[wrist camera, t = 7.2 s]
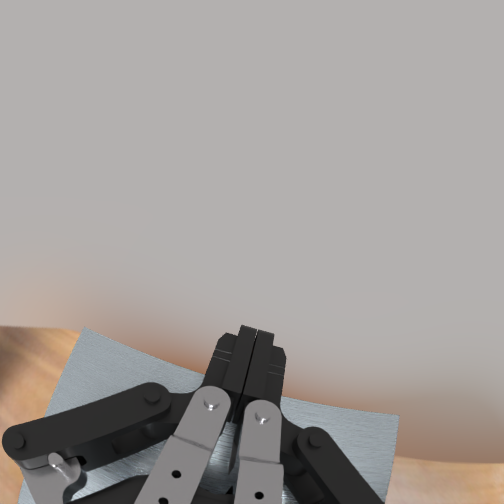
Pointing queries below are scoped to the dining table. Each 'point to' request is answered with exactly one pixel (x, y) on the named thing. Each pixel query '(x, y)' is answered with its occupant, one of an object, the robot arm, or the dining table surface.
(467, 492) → the dining table surface
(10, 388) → the dining table surface
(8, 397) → the dining table surface
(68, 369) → the panel
